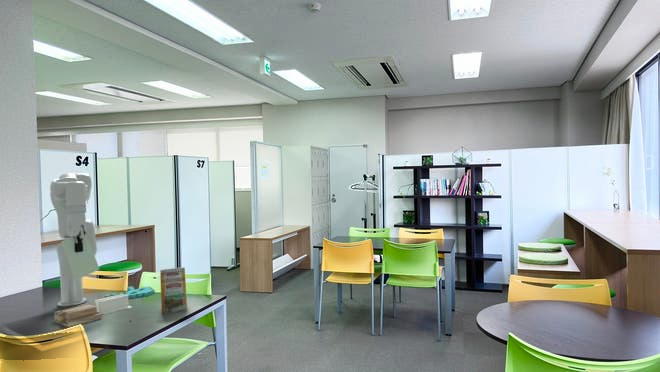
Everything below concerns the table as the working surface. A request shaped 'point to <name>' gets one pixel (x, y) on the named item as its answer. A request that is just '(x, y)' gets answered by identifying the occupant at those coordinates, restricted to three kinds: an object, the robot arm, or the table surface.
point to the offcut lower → (76, 318)
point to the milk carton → (173, 290)
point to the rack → (78, 321)
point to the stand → (112, 304)
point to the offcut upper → (79, 311)
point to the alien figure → (135, 292)
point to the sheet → (80, 257)
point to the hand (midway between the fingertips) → (78, 251)
